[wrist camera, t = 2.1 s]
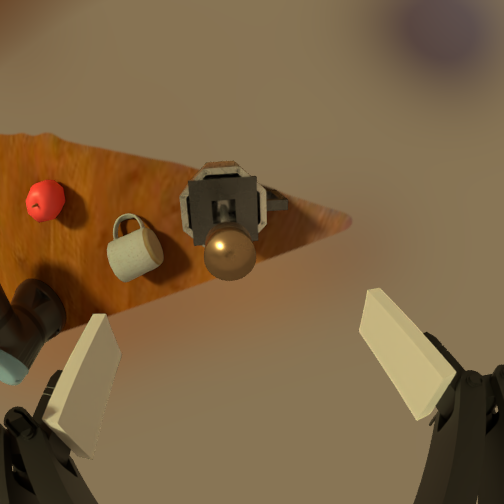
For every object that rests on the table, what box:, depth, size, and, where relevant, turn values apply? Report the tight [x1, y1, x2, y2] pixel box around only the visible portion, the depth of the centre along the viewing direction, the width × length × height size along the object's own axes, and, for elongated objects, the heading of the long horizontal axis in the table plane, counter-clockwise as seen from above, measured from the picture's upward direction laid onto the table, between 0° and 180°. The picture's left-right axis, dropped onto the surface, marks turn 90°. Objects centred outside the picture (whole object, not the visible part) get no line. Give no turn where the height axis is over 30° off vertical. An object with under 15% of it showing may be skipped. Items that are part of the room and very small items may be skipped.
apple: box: [26, 180, 65, 222], centre depth 38 cm, size 8×8×8 cm
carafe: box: [180, 161, 288, 247], centre depth 40 cm, size 14×11×13 cm
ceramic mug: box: [107, 213, 164, 282], centre depth 44 cm, size 11×8×8 cm
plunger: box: [204, 199, 256, 281], centre depth 29 cm, size 8×8×18 cm
